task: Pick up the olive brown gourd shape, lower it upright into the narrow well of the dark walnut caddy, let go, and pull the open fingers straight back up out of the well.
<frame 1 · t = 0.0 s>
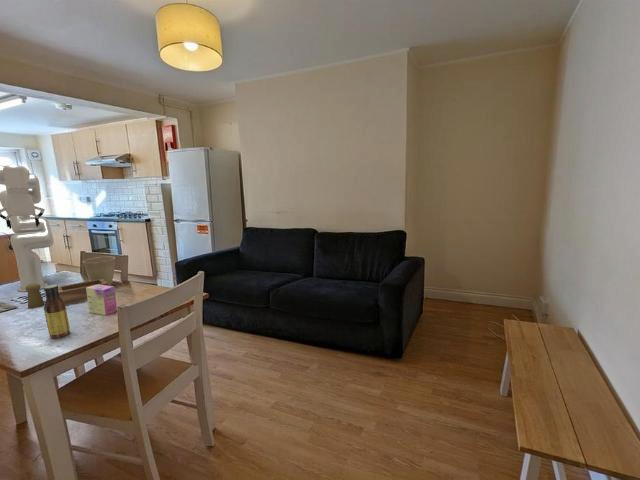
hand: (24, 227, 154), 37 cm above the table, tool pointing down, fingers open, 9 cm apart
walnut well caddy: (84, 298, 161), on the table
sauce bottle: (60, 335, 121), on the table
olive brown gourd shape: (36, 306, 151), on the table
plant pot: (102, 287, 179), on the table
box: (103, 312, 143), on the table
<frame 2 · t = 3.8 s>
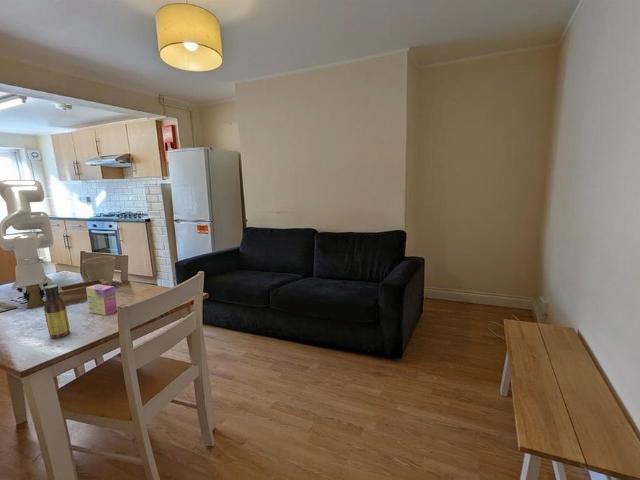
hand: (34, 298, 150), 4 cm above the table, tool pointing down, fingers closed on olive brown gourd shape, 4 cm apart
olive brown gourd shape: (36, 306, 151), on the table, touching gripper
everything else where it was.
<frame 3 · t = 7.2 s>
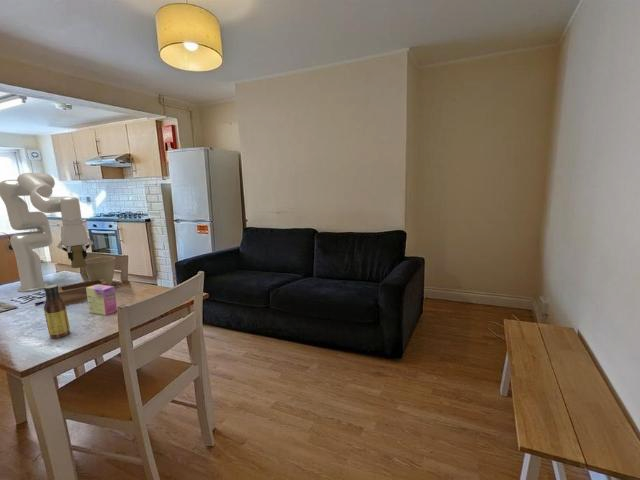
hand: (77, 258, 157), 21 cm above the table, tool pointing down, fingers closed on olive brown gourd shape, 4 cm apart
olive brown gourd shape: (79, 266, 158), point 17 cm above the table, touching gripper
everything else where it was.
when the fingers open (7 cm above the table, at t = 10.4 s): olive brown gourd shape drops 2 cm, resting on walnut well caddy.
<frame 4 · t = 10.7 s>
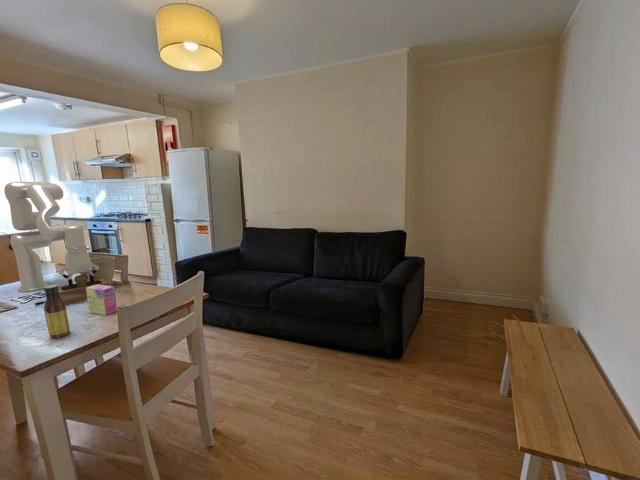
hand: (81, 284, 160), 7 cm above the table, tool pointing down, fingers open, 7 cm apart
olive brown gourd shape: (83, 296, 161), point 1 cm above the table, touching walnut well caddy
everything else where it was.
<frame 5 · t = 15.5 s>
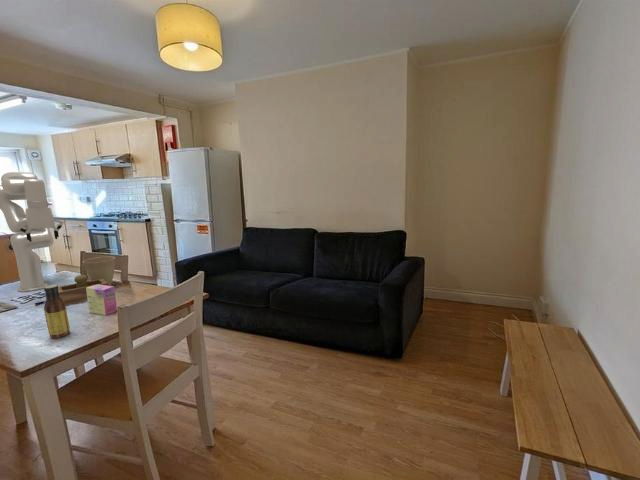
hand: (43, 240, 156), 30 cm above the table, tool pointing down, fingers open, 9 cm apart
nothing on the table moved.
at the end: olive brown gourd shape inside the target area on the walnut well caddy (0.2 cm from its centre), point 0.8 cm above the walnut well caddy's base; olive brown gourd shape tilted 0°; the gripper is holding nothing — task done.
